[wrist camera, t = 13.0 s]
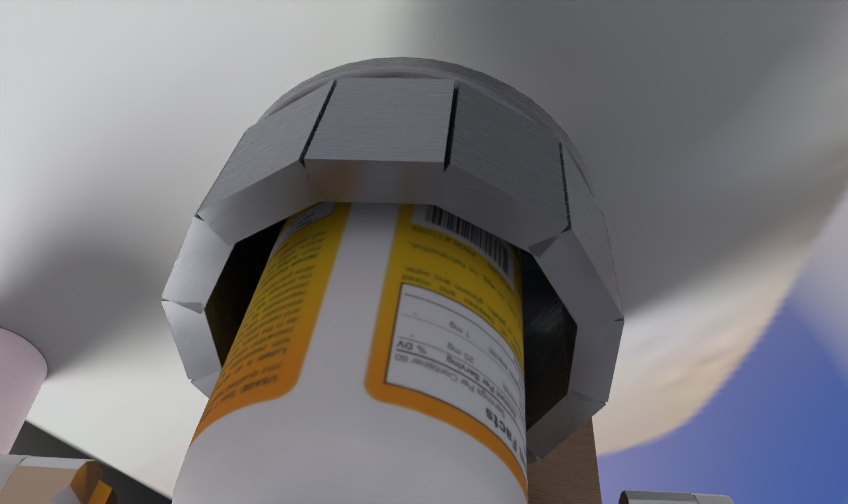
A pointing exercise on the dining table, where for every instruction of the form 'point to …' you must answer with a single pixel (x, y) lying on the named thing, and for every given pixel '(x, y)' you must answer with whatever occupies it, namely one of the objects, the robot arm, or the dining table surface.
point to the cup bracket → (436, 185)
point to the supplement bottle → (371, 368)
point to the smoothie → (17, 384)
